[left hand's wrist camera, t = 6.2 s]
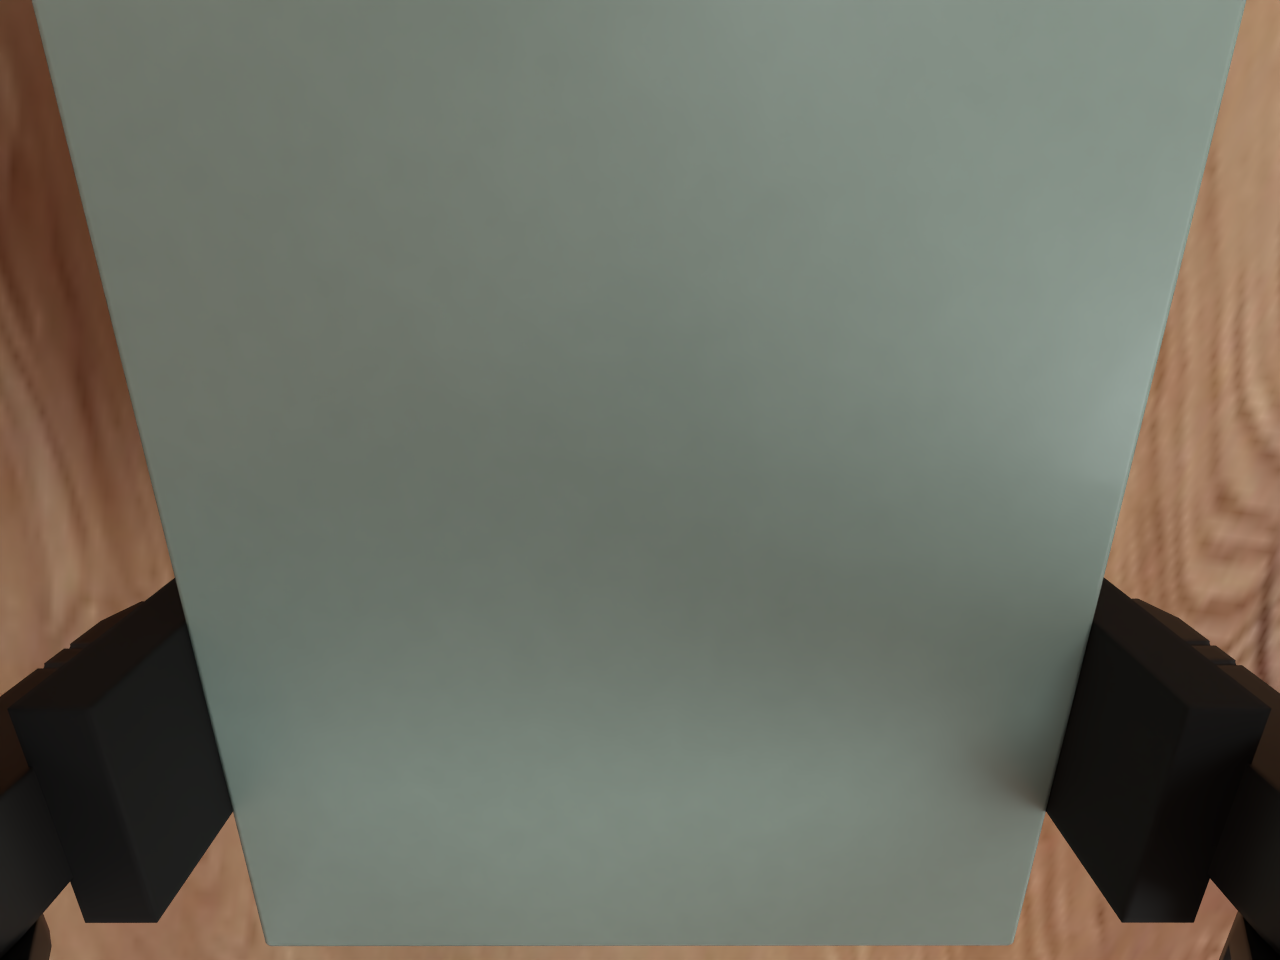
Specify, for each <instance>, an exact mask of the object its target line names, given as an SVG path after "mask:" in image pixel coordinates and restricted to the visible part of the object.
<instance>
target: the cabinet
mask: <svg viewBox="0 0 1280 960" xmlns="http://www.w3.org/2000/svg"><path fill="white" fill-rule="evenodd" d="M32 3H33V7H34V11H35V16H36V20H37V24H38V28H39V32H40V36H41V40H42V44H43V48H44V52H45V56H46V60H47V64H48V68H49V72H50V76H51V80H52V84H53V88H54V92H55V96H56V100H57V104H58V108H59V112H60V116H61V120H62V124H63V128H64V132H65V136H66V140H67V144H68V148H69V152H70V156H71V160H72V164H73V169H74V173H75V177H76V181H77V185H78V189H79V193H80V197H81V201H82V205H83V209H84V213H85V217H86V221H87V225H88V229H89V233H90V237H91V241H92V245H93V249H94V253H95V257H96V261H97V265H98V269H99V273H100V277H101V281H102V285H103V289H104V293H105V297H106V301H107V305H108V309H109V313H110V317H111V321H112V326H113V330H114V334H115V338H116V342H117V346H118V350H119V354H120V358H121V362H122V366H123V370H124V374H125V378H126V382H127V386H128V390H129V394H130V398H131V402H132V406H133V410H134V414H135V418H136V422H137V426H138V430H139V434H140V438H141V442H142V446H143V450H144V454H145V458H146V462H147V466H148V470H149V474H150V479H151V483H152V487H153V491H154V495H155V499H156V503H157V507H158V511H159V515H160V519H161V523H162V527H163V531H164V535H165V539H166V543H167V547H168V551H169V555H170V559H171V563H172V567H173V571H174V575H175V579H176V583H177V587H178V591H179V595H180V599H181V603H182V607H183V611H184V615H185V619H186V623H187V627H188V631H189V636H190V640H191V644H192V648H193V652H194V656H195V660H196V664H197V668H198V672H199V676H200V680H201V684H202V688H203V692H204V696H205V700H206V704H207V708H208V712H209V716H210V720H211V724H212V728H213V732H214V736H215V740H216V744H217V748H218V752H219V756H220V760H221V764H222V768H223V772H224V776H225V780H226V784H227V789H228V793H229V797H230V801H231V805H232V809H233V813H234V817H235V821H236V825H237V829H238V833H239V837H240V841H241V845H242V849H243V853H244V857H245V861H246V865H247V869H248V873H249V877H250V881H251V885H252V889H253V893H254V897H255V901H256V905H257V909H258V913H259V917H260V921H261V925H262V929H263V933H264V937H265V941H266V943H267V944H268V945H270V946H843V945H1010V944H1012V943H1013V941H1014V937H1015V933H1016V929H1017V925H1018V921H1019V917H1020V913H1021V909H1022V905H1023V901H1024V897H1025V893H1026V889H1027V885H1028V881H1029V877H1030V873H1031V869H1032V864H1033V860H1034V856H1035V852H1036V848H1037V844H1038V840H1039V836H1040V832H1041V828H1042V824H1043V820H1044V816H1045V812H1046V808H1047V804H1048V800H1049V796H1050V792H1051V788H1052V784H1053V780H1054V776H1055V771H1056V767H1057V763H1058V759H1059V755H1060V751H1061V747H1062V743H1063V739H1064V735H1065V731H1066V727H1067V723H1068V719H1069V715H1070V711H1071V707H1072V703H1073V699H1074V695H1075V691H1076V687H1077V682H1078V678H1079V674H1080V670H1081V666H1082V662H1083V658H1084V654H1085V650H1086V646H1087V642H1088V638H1089V634H1090V630H1091V626H1092V622H1093V618H1094V614H1095V610H1096V606H1097V602H1098V598H1099V594H1100V589H1101V585H1102V581H1103V577H1104V573H1105V569H1106V565H1107V561H1108V557H1109V553H1110V549H1111V545H1112V541H1113V537H1114V533H1115V529H1116V525H1117V521H1118V517H1119V513H1120V509H1121V505H1122V500H1123V496H1124V492H1125V488H1126V484H1127V480H1128V476H1129V472H1130V468H1131V464H1132V460H1133V456H1134V452H1135V448H1136V444H1137V440H1138V436H1139V432H1140V428H1141V424H1142V420H1143V416H1144V411H1145V407H1146V403H1147V399H1148V395H1149V391H1150V387H1151V383H1152V379H1153V375H1154V371H1155V367H1156V363H1157V359H1158V355H1159V351H1160V347H1161V343H1162V339H1163V335H1164V331H1165V327H1166V323H1167V318H1168V314H1169V310H1170V306H1171V302H1172V298H1173V294H1174V290H1175V286H1176V282H1177V278H1178V274H1179V270H1180V266H1181V262H1182V258H1183V254H1184V250H1185V246H1186V242H1187V238H1188V234H1189V229H1190V225H1191V221H1192V217H1193V213H1194V209H1195V205H1196V201H1197V197H1198V193H1199V189H1200V185H1201V181H1202V177H1203V173H1204V169H1205V165H1206V161H1207V157H1208V153H1209V149H1210V145H1211V141H1212V136H1213V132H1214V128H1215V124H1216V120H1217V116H1218V112H1219V108H1220V104H1221V100H1222V96H1223V92H1224V88H1225V84H1226V80H1227V76H1228V72H1229V68H1230V64H1231V60H1232V56H1233V52H1234V47H1235V43H1236V39H1237V35H1238V31H1239V27H1240V23H1241V19H1242V15H1243V11H1244V7H1245V3H1246V0H32Z"/></svg>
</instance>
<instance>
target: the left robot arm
mask: <svg viewBox="0 0 1280 960" xmlns="http://www.w3.org/2000/svg"><path fill="white" fill-rule="evenodd" d="M1209 642H1210V641H1209V640H1207V639H1206V638H1205V637H1203V636H1202V635H1201V634H1199V633H1198V632H1197V631H1195V630H1194V629H1193V628H1191V627H1190V626H1189V625H1187V624H1186V623H1185V622H1183V621H1182V620H1181V619H1179V618H1178V617H1175V616H1173V615H1171V614H1169V613H1167V612H1165V611H1163V610H1161V609H1159V608H1157V607H1154V606H1152V605H1150V604H1148V603H1146V602H1144V601H1142V600H1140V599H1131V598H1129V597H1128V596H1127V595H1126V594H1124V593H1123V592H1122V591H1120V590H1119V589H1118V588H1117V587H1115V586H1114V585H1113V584H1111V583H1110V582H1109V581H1108V580H1106V579H1105V578H1104V577H1103V581H1102V585H1101V589H1100V594H1099V598H1098V602H1097V606H1096V610H1095V614H1094V618H1093V622H1092V626H1091V630H1090V634H1089V638H1088V642H1087V646H1086V650H1085V654H1084V658H1083V662H1082V666H1081V670H1080V674H1079V678H1078V682H1077V687H1076V691H1075V695H1074V699H1073V703H1072V707H1071V711H1070V715H1069V719H1068V723H1067V727H1066V731H1065V735H1064V739H1063V743H1062V747H1061V751H1060V755H1059V759H1058V763H1057V767H1056V771H1055V776H1054V780H1053V784H1052V788H1051V792H1050V796H1049V800H1048V804H1047V808H1046V812H1047V813H1048V815H1049V816H1050V818H1051V819H1052V821H1053V822H1054V824H1055V825H1056V826H1057V828H1058V829H1059V831H1060V832H1061V834H1062V835H1063V837H1064V838H1065V840H1066V841H1067V843H1068V844H1069V846H1070V847H1071V848H1072V850H1073V851H1074V853H1075V854H1076V856H1077V857H1078V859H1079V860H1080V862H1081V863H1082V865H1083V866H1084V868H1085V869H1086V870H1087V872H1088V873H1089V875H1090V876H1091V878H1092V879H1093V881H1094V882H1095V884H1096V885H1097V887H1098V888H1099V890H1100V891H1101V892H1102V894H1103V895H1104V897H1105V898H1106V900H1107V901H1108V903H1109V904H1110V906H1111V907H1112V909H1113V910H1114V912H1115V913H1116V914H1117V916H1118V917H1119V919H1120V920H1121V922H1174V923H1194V920H1195V917H1196V915H1197V912H1198V909H1199V906H1200V904H1201V901H1202V898H1203V895H1204V893H1205V890H1206V887H1207V885H1208V882H1209V879H1211V880H1212V881H1213V882H1214V883H1215V884H1216V886H1217V887H1218V888H1219V889H1220V890H1221V891H1222V893H1223V894H1224V895H1225V896H1226V897H1227V898H1228V900H1229V901H1230V902H1231V903H1232V904H1233V905H1234V907H1235V908H1236V909H1237V910H1238V912H1237V915H1236V918H1235V920H1234V923H1233V925H1232V928H1231V930H1230V933H1229V935H1228V938H1227V941H1226V943H1225V946H1224V948H1223V951H1222V953H1221V956H1220V958H1219V960H1280V693H1278V692H1277V691H1276V690H1274V689H1273V688H1272V687H1270V686H1269V685H1268V684H1266V683H1265V682H1264V681H1262V680H1261V679H1260V678H1258V677H1257V676H1256V675H1254V674H1253V673H1252V672H1250V671H1249V670H1248V669H1246V668H1245V667H1244V666H1242V665H1236V663H1235V660H1234V659H1233V658H1232V657H1230V656H1229V655H1228V654H1226V653H1225V652H1224V651H1222V650H1221V649H1220V648H1218V647H1217V646H1210V643H1209ZM44 664H45V666H44V668H43V669H36V670H35V671H34V672H32V673H31V674H30V675H28V676H27V677H26V678H24V679H23V680H22V681H20V682H19V683H18V684H16V685H15V686H14V687H12V688H11V689H10V690H9V691H7V692H6V693H5V694H3V695H2V696H1V697H0V960H49V957H50V952H51V939H50V931H49V928H48V925H47V923H46V920H45V918H44V915H43V912H44V911H45V910H46V909H47V908H48V906H49V905H50V904H51V903H52V902H53V901H54V899H55V898H56V897H57V896H58V895H59V894H60V892H61V891H62V890H63V889H64V888H65V887H66V885H67V884H68V883H69V882H71V885H72V888H73V890H74V893H75V896H76V898H77V901H78V904H79V907H80V909H81V912H82V915H83V918H84V920H85V923H157V922H158V921H159V919H160V918H161V916H162V915H163V913H164V912H165V910H166V909H167V907H168V906H169V904H170V903H171V902H172V900H173V899H174V897H175V896H176V894H177V893H178V891H179V890H180V888H181V887H182V885H183V884H184V882H185V881H186V880H187V878H188V877H189V875H190V874H191V872H192V871H193V869H194V868H195V866H196V865H197V863H198V862H199V860H200V859H201V858H202V856H203V855H204V853H205V852H206V850H207V849H208V847H209V846H210V844H211V843H212V841H213V840H214V838H215V837H216V836H217V834H218V833H219V831H220V830H221V828H222V827H223V825H224V824H225V822H226V821H227V819H228V818H229V816H230V815H231V814H232V812H233V809H232V805H231V801H230V797H229V793H228V789H227V784H226V780H225V776H224V772H223V768H222V764H221V760H220V756H219V752H218V748H217V744H216V740H215V736H214V732H213V728H212V724H211V720H210V716H209V712H208V708H207V704H206V700H205V696H204V692H203V688H202V684H201V680H200V676H199V672H198V668H197V664H196V660H195V656H194V652H193V648H192V644H191V640H190V636H189V631H188V627H187V623H186V619H185V615H184V611H183V607H182V603H181V599H180V595H179V591H178V587H177V583H176V579H175V578H174V579H173V580H171V581H170V582H169V583H168V584H166V585H165V586H164V587H162V588H161V589H160V590H159V591H157V592H156V593H155V594H154V595H152V596H151V597H150V598H148V599H147V600H146V601H145V602H139V603H137V604H135V605H133V606H131V607H129V608H127V609H125V610H123V611H121V612H119V613H116V614H114V615H112V616H110V617H108V618H106V619H104V620H102V621H100V622H99V623H98V624H96V625H95V626H94V627H92V628H91V629H90V630H88V631H87V632H86V633H84V634H83V635H82V636H80V637H79V638H78V639H76V640H75V641H74V642H72V643H71V644H70V648H69V649H63V650H62V651H60V652H59V653H58V654H56V655H55V656H54V657H52V658H51V659H50V660H48V661H47V662H46V663H44Z"/></svg>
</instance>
